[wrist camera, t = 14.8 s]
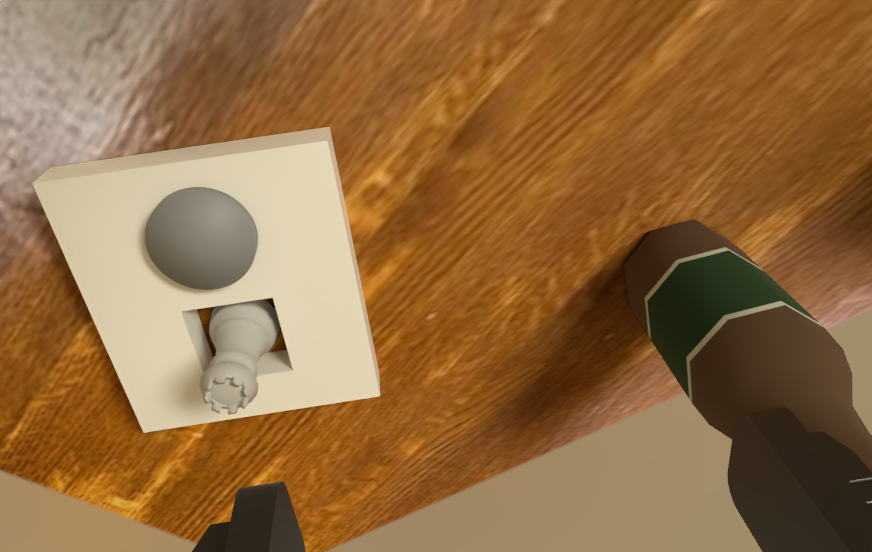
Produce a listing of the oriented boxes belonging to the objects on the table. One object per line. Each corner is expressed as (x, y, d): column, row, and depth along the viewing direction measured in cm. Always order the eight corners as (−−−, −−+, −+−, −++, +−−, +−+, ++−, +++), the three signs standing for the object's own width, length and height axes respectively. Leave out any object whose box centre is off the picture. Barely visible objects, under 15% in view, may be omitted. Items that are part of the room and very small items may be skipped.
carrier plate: (50, 167, 39) (24, 190, 35) (329, 126, 39) (326, 146, 36) (153, 408, 47) (139, 443, 44) (379, 373, 48) (380, 405, 45)
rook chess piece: (249, 357, 46) (230, 439, 39) (197, 319, 44) (167, 398, 37) (295, 319, 45) (283, 396, 38) (243, 277, 43) (221, 350, 36)
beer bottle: (604, 312, 47) (797, 643, 26) (637, 209, 43) (892, 500, 23) (707, 320, 48) (969, 642, 28) (747, 221, 45) (1085, 508, 24)
